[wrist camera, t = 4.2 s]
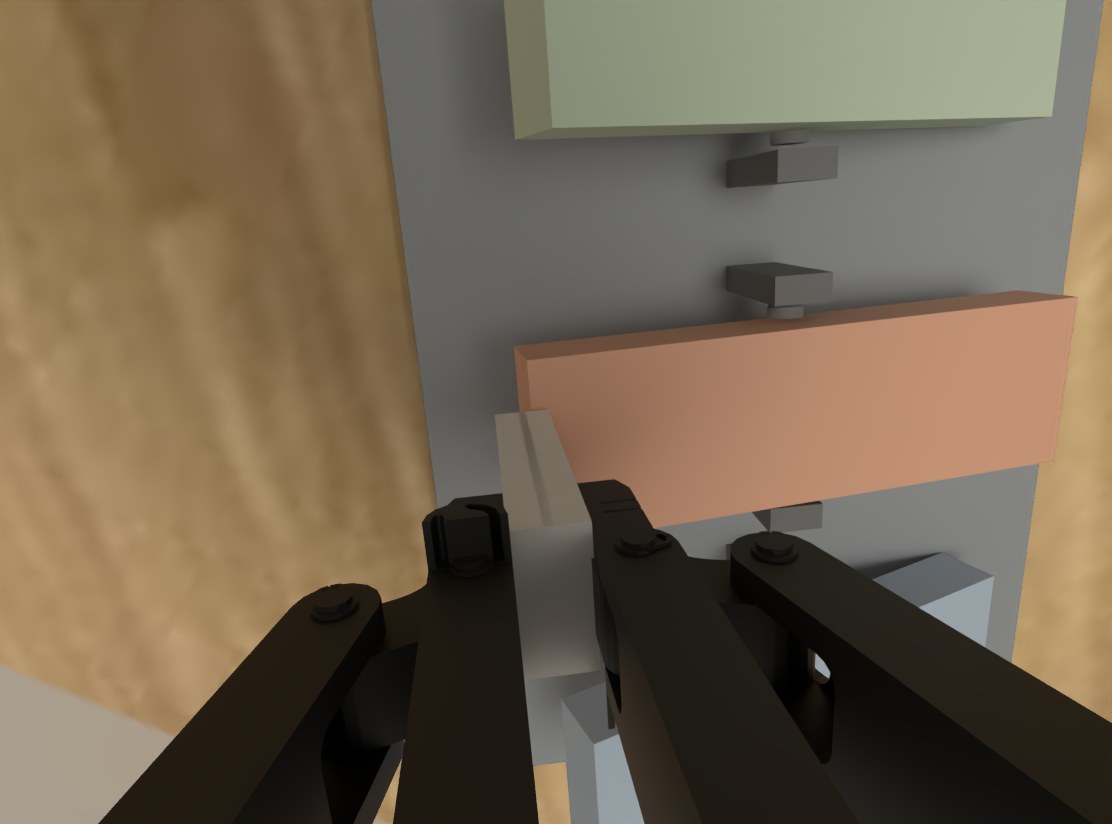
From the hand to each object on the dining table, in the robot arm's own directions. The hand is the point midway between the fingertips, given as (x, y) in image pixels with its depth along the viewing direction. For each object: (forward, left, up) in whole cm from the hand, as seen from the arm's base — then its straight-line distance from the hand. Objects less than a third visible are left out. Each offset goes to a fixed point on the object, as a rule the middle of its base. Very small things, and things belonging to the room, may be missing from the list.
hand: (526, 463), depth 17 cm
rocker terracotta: (0, +8, -3) cm, 9 cm away
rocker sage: (-10, +8, -3) cm, 13 cm away
